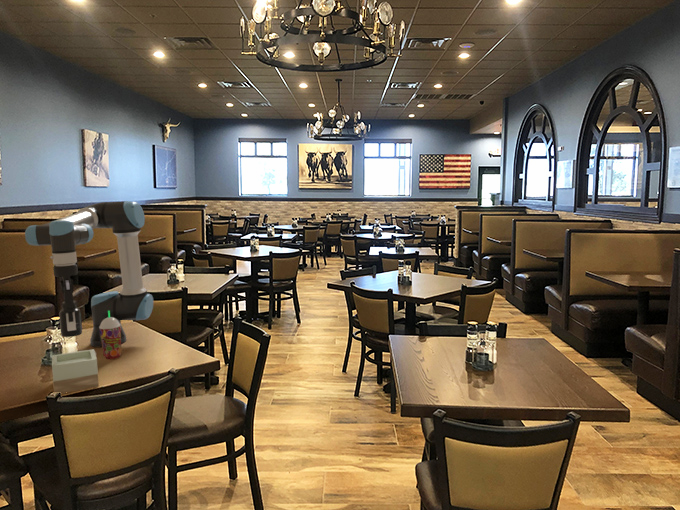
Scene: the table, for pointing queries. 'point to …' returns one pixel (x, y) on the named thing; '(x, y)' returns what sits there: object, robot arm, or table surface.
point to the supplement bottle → (64, 322)
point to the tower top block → (74, 365)
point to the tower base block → (76, 384)
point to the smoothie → (111, 337)
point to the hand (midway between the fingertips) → (71, 327)
